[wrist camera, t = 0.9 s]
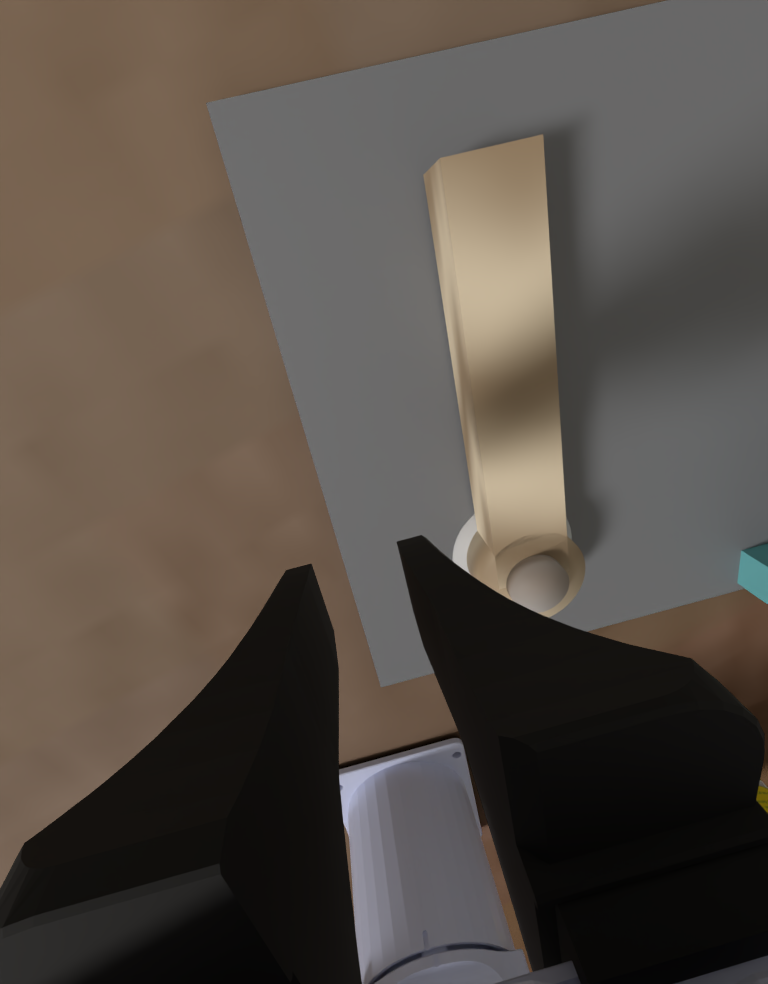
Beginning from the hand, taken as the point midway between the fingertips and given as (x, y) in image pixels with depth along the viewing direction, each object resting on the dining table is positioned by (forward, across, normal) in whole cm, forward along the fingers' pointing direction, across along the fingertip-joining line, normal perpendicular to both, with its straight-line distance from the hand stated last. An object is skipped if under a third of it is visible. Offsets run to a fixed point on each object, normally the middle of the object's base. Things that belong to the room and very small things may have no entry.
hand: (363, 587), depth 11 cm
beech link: (+8, -6, 0) cm, 10 cm away
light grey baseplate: (+9, -11, 0) cm, 15 cm away
